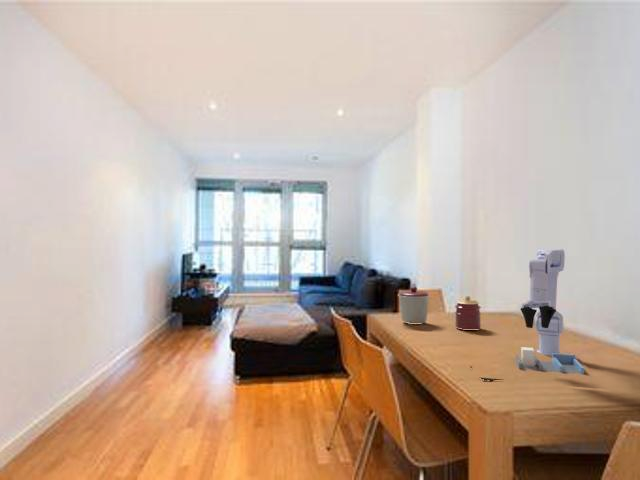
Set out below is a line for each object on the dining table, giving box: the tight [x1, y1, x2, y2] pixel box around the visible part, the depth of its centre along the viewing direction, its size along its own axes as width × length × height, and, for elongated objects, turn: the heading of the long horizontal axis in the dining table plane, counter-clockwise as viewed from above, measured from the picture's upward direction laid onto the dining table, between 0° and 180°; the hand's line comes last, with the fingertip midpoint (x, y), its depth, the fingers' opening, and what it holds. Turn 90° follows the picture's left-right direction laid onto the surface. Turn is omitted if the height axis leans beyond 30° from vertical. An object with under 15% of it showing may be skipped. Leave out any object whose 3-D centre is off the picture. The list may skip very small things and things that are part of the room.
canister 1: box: [397, 286, 431, 324], centre depth 239 cm, size 18×18×21 cm
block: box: [520, 346, 536, 367], centre depth 157 cm, size 4×4×6 cm
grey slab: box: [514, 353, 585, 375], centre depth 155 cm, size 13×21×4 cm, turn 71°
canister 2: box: [454, 295, 482, 330], centre depth 223 cm, size 13×13×18 cm
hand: (536, 327), depth 151 cm, fingers open, 7 cm apart
